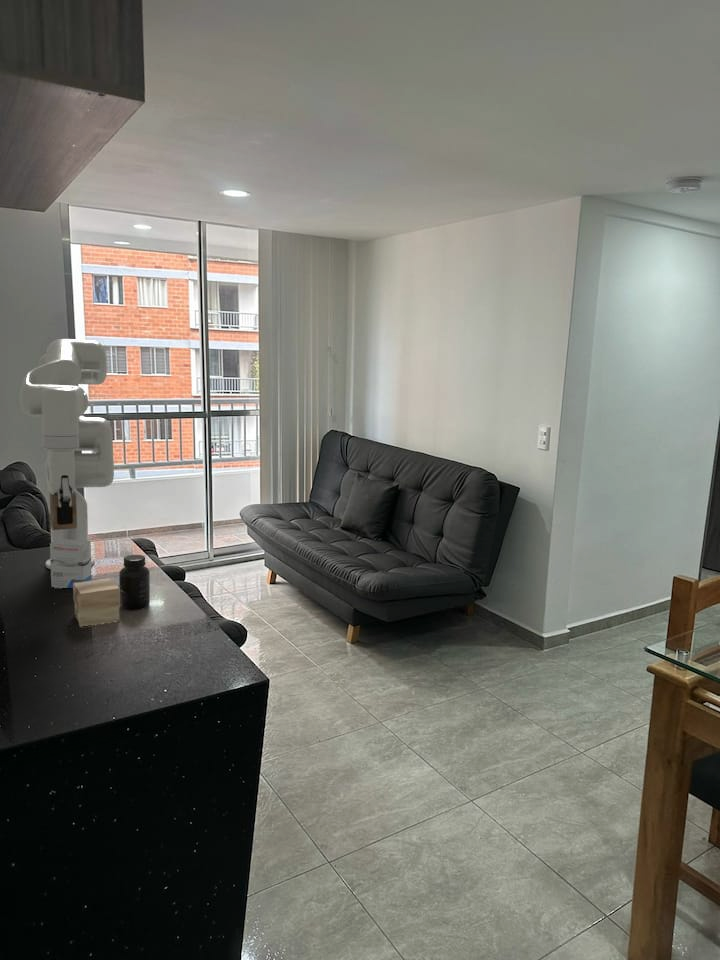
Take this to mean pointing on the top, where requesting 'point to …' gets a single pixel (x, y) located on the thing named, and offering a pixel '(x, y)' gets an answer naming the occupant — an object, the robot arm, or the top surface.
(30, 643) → the top surface
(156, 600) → the top surface
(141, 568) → the supplement bottle
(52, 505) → the walnut block
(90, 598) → the upper maple slab
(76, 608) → the lower maple slab
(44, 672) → the top surface
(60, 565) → the ink box
